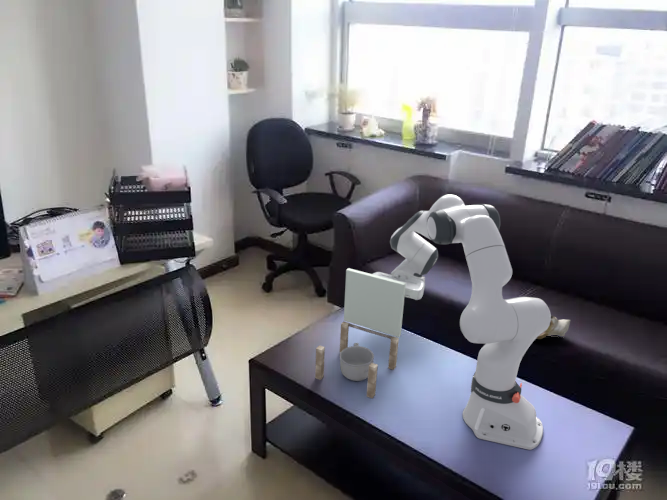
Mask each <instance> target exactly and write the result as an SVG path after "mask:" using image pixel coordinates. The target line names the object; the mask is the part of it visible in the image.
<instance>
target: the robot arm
mask: <svg viewBox="0 0 667 500" xmlns="http://www.w3.org/2000/svg"><path fill="white" fill-rule="evenodd" d="M500 227H501V215H500V213H499V211H498V210H497V208H495V206H493V205H491V204H485V203H474V204H471V205H470V204H469V205H467V204H465V202H464V201H463V199H462V198H461V197H459V196H457V195H455V194H448V193H447V194H444V195H442V196H440V197H439V198H438V199H437V200H436V201H435V202H434V203H433V204H432V205H431V207H430V209H429V210H419V211H417V212H416V213H414V214H413V216H411V217H410V218H409V219H408V220H407V221H406V222H405V223H404V224H403V225H402V226H400V227H398V228H397V229H396V230H395V231H394V232H393V234H392V235H391V237H390V240H389V244H390V248H391V249H392V250H394V251H395V252H396V253H397V254H400V255H401V256H402V257H404V258H405V259H404V260H403V261H401V263H399V265H398V266H396V267H395V268H394V269H393V270H392V271H391V272H390V273H386V272H382V271H376V272H373V273H372V274H373V275H377V276H381V277H385V278H388V279H392V280H396V281H400V282H404V283H406V287H405V297H404V298H408V299H413V300H415V301H418V300H421V299H422V297H423V295H424V291H425V287H426V277H425V275H427V274H428V273H429V271H431V270H432V268H433V267H434V266H435V265H436V263H437V262H438V259H439V251H438V248H437V247H435V246H434V245H433V244H431V243H430V242H429V241H427V240H426V239H425V238H427V239H429V240H430V241H432V242H433V243H435V244H437V245H449V244H459V243H461V244H462V247H463V248H462V249H463V251H464V255H465V256H464V257H465V259H466V263H467V266H468V270H469V275H470V279H471V295H470V300H469V302H468V303H467V305H466V307H465V308H464V309H463V311H462V313H461V315H460V319H459V327H460V328H459V329H460V331H461V333H462V334H463V336H464V338H465V339H467V341H468V342H470V343H473V344H483V346H482V347H481V349H480V350H479V351H478V356H477V360H476V361H477V362H476V366H475V371H474V373H473V375H472V378H471V384H470V395H469V399H468V400H467V404H466V406H465V407H464V408H463V411H462V418H463V421H464V422H465V425H467V426H468V427H469V428H470V429H471V430H472V431H473V433H474V436H475V437H477V438H478V439H480V440H484V441H489V442H493V443H496V444H497V443H498V444H502V445H506V446H511V447H515V448H521V449H525V450H533V449H536V448H537V447H538V446H539V445H540V443H541V441H542V439H543V434H544V426H543V422H542V421H541V419H540V418H539V417H537V412H536V411H537V410H536V407H535V406H534V405H533V404H532V403H531V402H530V401H529V400H527V399H526V397H524V396H523V395H522V387H523V383H522V382H520V384H518V382H517V381H516V380H517V375H518V371H519V367H520V363H521V361H522V359H523V357H524V356H525V354H526V352H527V351H528V349H529V347H530V346H531V345H532V344H533V342H534V341H536V339H537V337H538V336H539V335H540V334H542V333H543V332H544V331H546V330H547V329H548V327H549V325H550V321H551V310H550V307H548V304H547V303H546V302H545V301H544V300H543V299H541V298H538V297H532V296H530V297H529V296H519V297H512V298H507V299H504V296H503V287H504V286H505V285H507V284H508V282H509V281H511V278H512V275H513V268H512V265H511V262H510V261H511V260H510V257H509V255H508V252H507V249H506V245H505V242H504V240H503V238H502V235H501V233H500ZM419 234H420V235H419ZM421 235H422V236H424V237H425V238H423V237H422V236H421Z"/></svg>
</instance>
